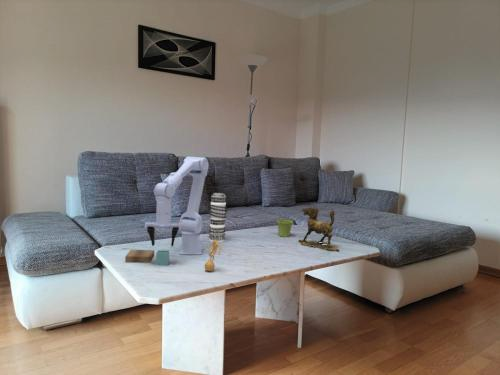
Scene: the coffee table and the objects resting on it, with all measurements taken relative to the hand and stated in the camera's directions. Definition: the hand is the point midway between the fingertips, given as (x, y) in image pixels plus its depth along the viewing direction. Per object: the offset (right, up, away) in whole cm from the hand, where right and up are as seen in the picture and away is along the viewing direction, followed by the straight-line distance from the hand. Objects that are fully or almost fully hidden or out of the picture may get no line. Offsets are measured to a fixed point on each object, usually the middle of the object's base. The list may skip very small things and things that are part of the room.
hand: (162, 245), depth 147 cm
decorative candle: (+18, -4, +44) cm, 48 cm away
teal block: (0, -8, +1) cm, 8 cm away
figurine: (+72, -7, +42) cm, 83 cm away
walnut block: (-11, -7, +6) cm, 14 cm away
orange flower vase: (+20, -9, -5) cm, 23 cm away
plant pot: (+55, -5, +61) cm, 83 cm away
